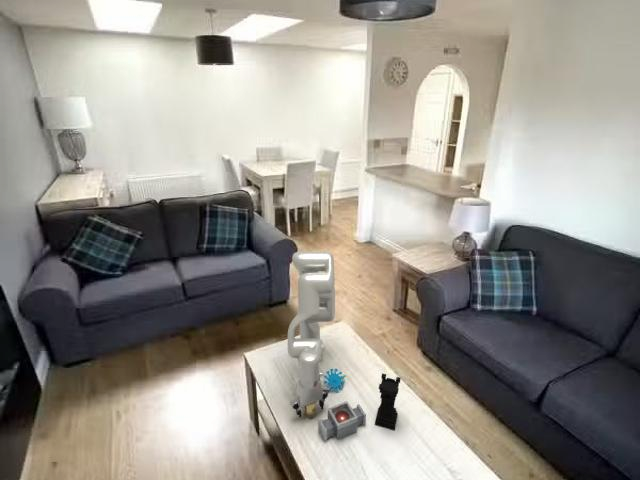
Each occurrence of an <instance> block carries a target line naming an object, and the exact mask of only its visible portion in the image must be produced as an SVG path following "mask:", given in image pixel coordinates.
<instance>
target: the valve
mask: <svg viewBox="0 0 640 480" xmlns="http://www.w3.org/2000/svg"><path fill="white" fill-rule="evenodd" d="M366 422H367V414H366V412H365V411H364V409H363V407H362V406H361V405H360V404H359V403H358V404H357V405H356V407H354V408H353V407H352V406H351V405H350V403H349V402H348V401H347V400H346V401H344V402H341V403H338V404H336V405H333V406H331V407H327V418H325V419H323V420H322V418H319V419H318V423H317V424H318V428H317V430H318V431H319V434H320V436H321V438H322V440H323V442H327V441H328V440H327V439H328V438H330V437H334V438H335V440H336V441H337V442H339V441H340V440H343V439H345V438H348V437H349V436H352V435H354V434H357V433H358V426H360V425H362V426H366V424H367V423H366Z"/></svg>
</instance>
